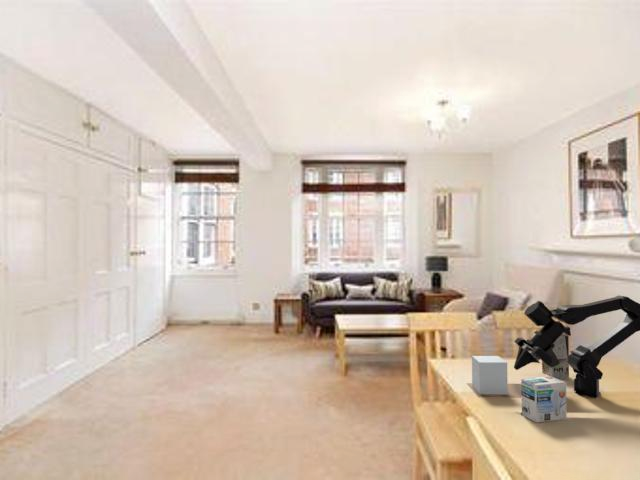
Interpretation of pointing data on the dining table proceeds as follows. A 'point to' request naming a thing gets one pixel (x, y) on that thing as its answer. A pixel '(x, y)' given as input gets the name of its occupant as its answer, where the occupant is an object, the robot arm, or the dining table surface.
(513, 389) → the podium board
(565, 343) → the coffee box
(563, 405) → the light bulb box
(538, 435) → the dining table surface
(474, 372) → the carton
